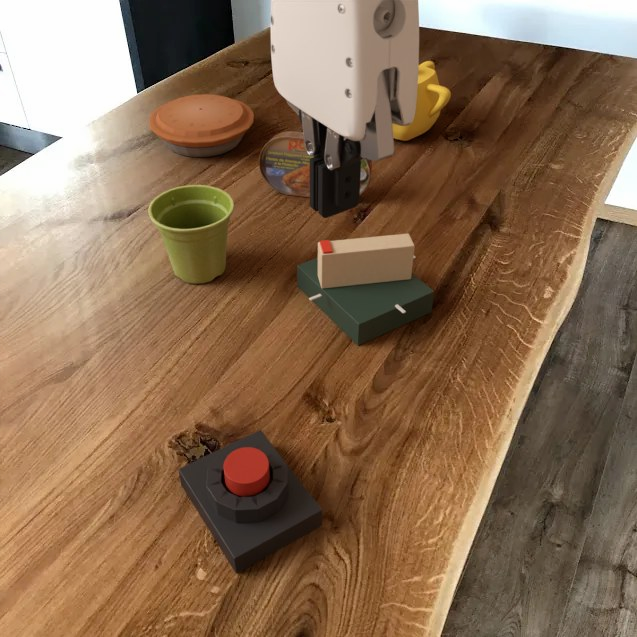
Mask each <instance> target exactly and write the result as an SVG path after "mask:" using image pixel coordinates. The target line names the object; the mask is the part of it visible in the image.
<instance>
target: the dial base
mask: <svg viewBox="0 0 637 637" xmlns="http://www.w3.org/2000/svg"><path fill="white" fill-rule="evenodd" d="M414 259H416V255H414V257H413V260H414ZM296 278H297V279H296V285H297V287H298V288H299V289H300V290H301V291H302V292H303V293H304V294H305V296H307V298H308V300H309V301H310V302H313V303H314V304H315V305H316V306H317V307H318V308H319V309H320V310H321V311H322V312H323V313H324V314H325V315H326V316H327V317H328V318H329V319H330V320H331V321H332V322H333V323H334V324H335V325H336V326H337V327H338V328H339V329H340V330H341V331H342V332H343V333H344V334H346V336H347V337H348V338H349V339H351V341H353V342H354V344H356V346H360V345H362V344H365V343H367V342H369V341H371V340H374V339H376V338H378V337H380V336H382V335H385V334H387V333H389V332H391V331H393V330H396V329H397V328H398V329H399V328H400V327H402V326H405V325H407V324H408V323H411V322H413V321H416V320H418V319H420V318H423V317H424V316H427V315H429V314H431V313H432V310H433V304H434V297H435V291H434V290H433V289H432V288H431V287H430V286H428V285H427V284H426V283H425V282H423V281H422V280H421V279H420V278H419V277H417V276H416V275H415V274H414V273H412V275H411V279H408V280H399V281H389V282H380V283H370V284H361V285H351V286H342V287H332V288H323V289H322V288H321V285H320V282H319V278H318V257H315V258H313V259H310V260H307V261H305V262H302V263H299V264H297V265H296Z"/></svg>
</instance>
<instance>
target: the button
mask: <svg viewBox="0 0 637 637" xmlns="http://www.w3.org/2000/svg"><path fill="white" fill-rule="evenodd" d="M223 467H224V476H225V483H226V486H227V488H228V489H229V490H230V491H231V492H232V493H234V494H236V495H238V496H243V497H249V496H254V495H257V494H259V493H260V492H262V491H263V490H264V489H265V488H266V487H267V485H268V483H269V480H270V473H269V461H268V458H267V456H266V455H265V454H264V453H263V452H262V451H260V450H258V449H256V448H252V447H244V448H239V449H237V450H235V451H233V452H231V453H230V454H229V455H228V456H227V458H226V459H225V461H224V466H223Z"/></svg>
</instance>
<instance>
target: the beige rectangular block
mask: <svg viewBox="0 0 637 637" xmlns="http://www.w3.org/2000/svg"><path fill="white" fill-rule="evenodd" d="M415 248H416V247H415V244H414V242H413V239H412V236H411V235H410V233H400V234H399V233H398V234H387V235H379V236H378V235H377V236H368V237H367V236H366V237H356V238H348V239H347V238H346V239H336V240H330V239H324V240H319V241H318V242H317V258H318V278H319V282H320V285H321V288H322V289H323V288H332V287H342V286H351V285H361V284H370V283H380V282H389V281H399V280H408V279H411V275H412V274H413V266H414V259H413V257H414V256H415Z"/></svg>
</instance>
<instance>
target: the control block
mask: <svg viewBox="0 0 637 637" xmlns="http://www.w3.org/2000/svg"><path fill="white" fill-rule="evenodd" d="M244 447H252V448H256V449H258V450H260V451H262V452H263V453H264V454H265V455H266V456H267V458H268V461H269V473H270V480H269V483H268V485H267V487H266V488H265V489H264V490H263V491H262V492H260V493H259V494H257V495H254V496H249V497H243V496H238V495H236V494H234V493H232V492H231V491H230V490H229V489H228V488H227V486H226V483H225V476H224V467H223V466H224V461H225V459H226V458H227V456H228V455H229V454H230V453H231V452H233V451H235V450H237V449H239V448H244ZM178 475H179V480H180V485H181V487H182V489H183V490H184V493H185V494H186V495H187V497H188V498H189V500H190V501H191V503H192V505H193V506H194V508H195V509H196V511H197V513H198V514H199V516H200V518H201V520H202V521H203V523H204V524H205V526H206V528H207V529H208V531H209V532H210V534H211V536H212V537H213V539H214V540H215V542H216V543H217V545H218V547H219V549H220V550H221V552H222V553H223V555H224V557H225V558H226V559H227V562H229V565H230V566H231V568H232V569H233V571H234V573H235V574H238V573H240V572H242V571H245V569H247V568H249V567H251V566H253V565H254V564H256V563H258V562H260V561H262V560H263V559H265V558H267V557H269V556H270V555H272V554H274V553H275V552H277V551H280V550H281V549H283V548H285V547H286V546H287V545H289V544H291V543H293V542H296V541H297V540H299V539H300V538H302V537H304V536H305V535H307V534H309V533H311V532H313V531H314V530H316V529H319V528H320V527H322V526H323V508H322V507H321V506H320V505H319V503H318V502H317V501H316V500H315V498H314V497H313V496H312V494H311V493H310V492H309V490H308V489H307V488H306V486H305V485H304V484H303V483H302V482H301V480H300V479H299V477H298V476H297V475H296V474H295V472H294V471H293V470H292V468H291V466H289V465H288V463H287V462H286V460H285V459H284V458H283V457H282V456H281V454H280V453H279V452H278V450H277V449H276V448H275V447H274V445H273V444H272V443H271V441H270V440H269V439H268V437H267V436H266V435H265V434H264V432H263V431H262V430H261V429H259V430H257V431H255V432H253V433H250V434H249V435H246V436H244V437H241V438H239V439H237V440H236V441H234V442H232V443H229V444H227V445H225V446H223V447H222V448H219V449H217V450H215V451H213V452H211V453H208V454H207V455H205V456H203V457H201V458H198V459H197V460H194V461H192V462H190V463H188V464H186V465H184V466H182V467H180V468H178Z"/></svg>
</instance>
